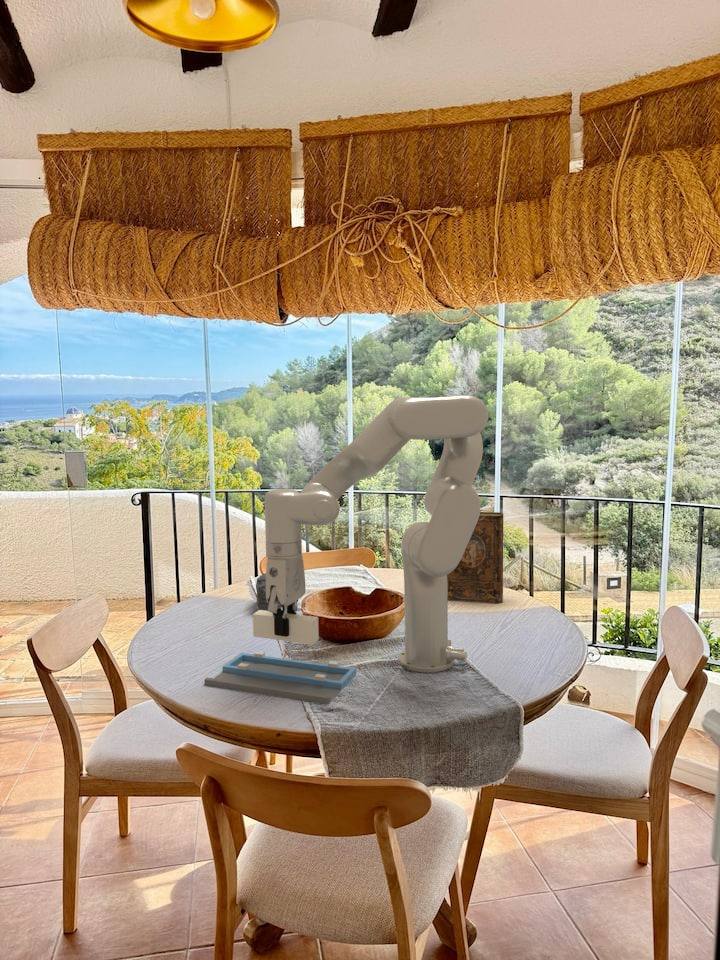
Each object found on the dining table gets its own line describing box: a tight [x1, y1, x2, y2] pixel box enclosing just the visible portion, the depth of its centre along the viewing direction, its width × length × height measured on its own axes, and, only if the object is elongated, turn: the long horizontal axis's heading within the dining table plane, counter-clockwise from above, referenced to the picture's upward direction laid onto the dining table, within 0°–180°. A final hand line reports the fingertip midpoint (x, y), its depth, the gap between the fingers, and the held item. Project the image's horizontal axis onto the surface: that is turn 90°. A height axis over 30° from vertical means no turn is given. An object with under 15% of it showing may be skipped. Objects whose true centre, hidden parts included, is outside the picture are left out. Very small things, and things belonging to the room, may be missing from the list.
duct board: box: [204, 650, 357, 705], centre depth 148 cm, size 28×15×3 cm, turn 69°
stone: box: [255, 572, 282, 611], centre depth 197 cm, size 12×8×10 cm, turn 6°
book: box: [447, 511, 504, 605], centre depth 199 cm, size 16×6×25 cm, turn 73°
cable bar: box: [252, 610, 320, 646], centre depth 149 cm, size 14×3×5 cm, turn 69°
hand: (285, 631), depth 150 cm, fingers closed on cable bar, 3 cm apart
